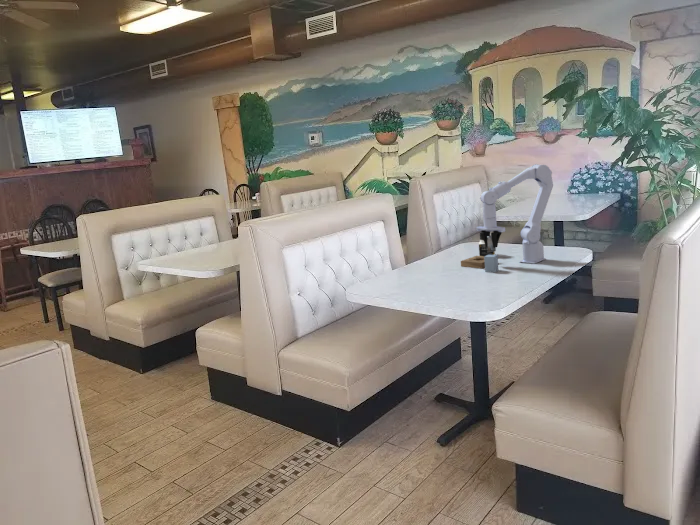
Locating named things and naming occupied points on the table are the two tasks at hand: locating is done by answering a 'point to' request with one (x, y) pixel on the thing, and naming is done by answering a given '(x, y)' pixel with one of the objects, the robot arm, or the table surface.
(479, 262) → the bore block
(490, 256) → the square peg
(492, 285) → the table surface
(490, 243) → the round peg
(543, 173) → the robot arm
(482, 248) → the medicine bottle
